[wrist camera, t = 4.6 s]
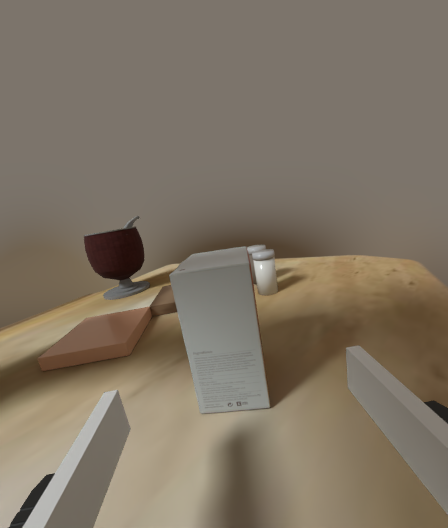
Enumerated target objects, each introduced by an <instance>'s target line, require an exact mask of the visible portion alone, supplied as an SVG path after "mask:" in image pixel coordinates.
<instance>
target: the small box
mask: <svg viewBox="0 0 448 528" xmlns="http://www.w3.org/2000/svg"><path fill="white" fill-rule="evenodd" d="M169 277H170V281H171V286H172V290H173V294H174V299H175V303H176V308H177V312H178V316H179V321H180V325H181V330H182V334H183V338H184V342H185V347H186V351H187V355H188V359H189V364H190V368H191V372H192V377H193V381H194V386H195V391H196V395H197V400H198V404H199V409H200V413H216V412H228V411H240V410H251V409H262V408H269V407H270V399H269V391H268V384H267V377H266V371H265V363H264V357H263V350H262V343H261V336H260V329H259V322H258V314H257V307H256V300H255V292H254V285H253V278H252V270H251V264H250V259H249V254H248V250H247V247H238V248H231V249H224V250H217V251H210V252H204V253H197V254H192V255H191V256H190V257H188V258H187V259H186V260H185V261H183V262H182V263H181V264H180V265H179V266H178V267H177V268H176V269H175V270H174V271H173V272H172V273H171V274H170V275H169Z"/></svg>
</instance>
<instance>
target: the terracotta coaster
mask: <svg viewBox="0 0 448 528" xmlns="http://www.w3.org/2000/svg"><path fill="white" fill-rule="evenodd" d="M151 317H152V314H151V310H150V307H145V308H140V309H134V310H129V311H123V312H117V313H112V314H106V315H101V316H95V317H90V318H86V319H84V320H83V321H82V322H81V323H80V324H78V325H77V326H76V327H75V328H74V329H72V330H71V331H70V332H69V333H68V334H66V335H65V336H64V337H63V338H62V339H60V340H59V341H58V342H57V343H55V344H54V345H53V346H52V347H51V348H49V349H48V350H47V351H46V352H45V353H43V354H42V355H41V356H40V357H39V358H37V359H38V362H39V364H40V367H41V369H42V371H47V370H52V369H58V368H63V367H68V366H74V365H79V364H85V363H90V362H96V361H101V360H106V359H112V358H117V357H123V356H128V355H130V354H131V352H132V350H133V348H134V347H135V345H136V343H137V342H138V340H139V338H140V336H141V335H142V333H143V331H144V329H145V328H146V326H147V324H148V323H149V321H150V319H151Z"/></svg>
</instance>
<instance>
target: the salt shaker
mask: <svg viewBox="0 0 448 528" xmlns="http://www.w3.org/2000/svg"><path fill="white" fill-rule="evenodd" d="M252 258H253V261H254V268H255V275H256V282H257V289H258V294H260V295H273V294H276V293H277V292H278V285H277V277H276V269H275V261H274V250H272V249H265V250H259V251H255V252H253V253H252Z"/></svg>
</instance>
